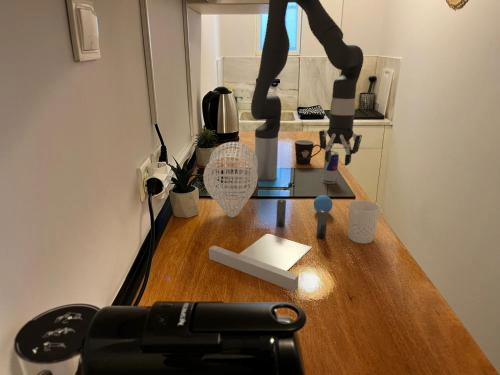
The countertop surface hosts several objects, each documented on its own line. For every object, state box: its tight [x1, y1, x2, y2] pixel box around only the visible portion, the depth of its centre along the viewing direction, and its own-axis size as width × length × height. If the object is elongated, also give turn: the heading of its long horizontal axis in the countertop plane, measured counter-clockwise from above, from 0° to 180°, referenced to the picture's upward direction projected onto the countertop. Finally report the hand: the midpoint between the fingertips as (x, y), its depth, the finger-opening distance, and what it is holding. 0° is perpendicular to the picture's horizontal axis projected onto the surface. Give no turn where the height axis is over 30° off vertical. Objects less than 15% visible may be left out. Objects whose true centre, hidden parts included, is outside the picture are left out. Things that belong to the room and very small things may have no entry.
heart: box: [202, 141, 258, 218], centre depth 116 cm, size 28×16×22 cm, turn 179°
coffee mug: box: [294, 139, 322, 166], centre depth 174 cm, size 12×9×10 cm
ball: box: [313, 194, 333, 213], centre depth 122 cm, size 6×6×6 cm
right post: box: [315, 210, 329, 240], centre depth 106 cm, size 3×3×8 cm
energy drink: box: [322, 150, 340, 185], centre depth 150 cm, size 5×5×12 cm
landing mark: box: [239, 233, 313, 272], centre depth 100 cm, size 14×14×1 cm
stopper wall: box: [208, 245, 300, 292], centre depth 90 cm, size 24×2×3 cm, turn 56°
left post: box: [275, 198, 287, 229], centre depth 113 cm, size 3×3×8 cm
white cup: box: [347, 199, 381, 245], centre depth 105 cm, size 8×8×10 cm
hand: (337, 163), depth 125 cm, fingers open, 5 cm apart
